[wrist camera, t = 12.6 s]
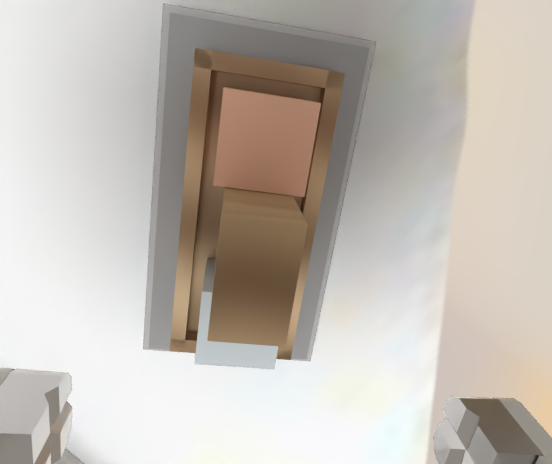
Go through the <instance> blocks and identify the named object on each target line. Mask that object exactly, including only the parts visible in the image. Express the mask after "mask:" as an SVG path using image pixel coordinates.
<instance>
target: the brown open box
mask: <svg viewBox="0 0 552 464" xmlns="http://www.w3.org/2000/svg"><path fill="white" fill-rule="evenodd" d="M344 77H345V73H341V72H335V71H330V70H324V69H318V68H312V67H306V66H300V65H294V64H288V63H282V62H276V61H271V60H265V59H259V58H253V57H247V56H241V55H235V54H229V53H223V52H217V51H212V50H206V49H200V48H195V54H194V66H193V78H192V90H191V102H190V114H189V126H188V138H187V150H186V162H185V174H184V186H183V197H182V209H181V221H180V233H179V245H178V257H177V269H176V281H175V293H174V305H173V317H172V329H171V341H170V351H176V352H190V353H196V345H197V335H198V325H199V316H200V306H201V296H202V288H203V282H204V276H205V269H206V263H207V258H210V259H216V264H215V273H214V282H213V292H212V301H211V311H210V320H209V329H208V339H207V341H214V342H227V343H240V344H253V345H266V346H278V351H277V357H276V359H286V360H291V355H292V350H293V345H294V340H295V334H296V329H297V324H298V319H299V313H300V308H301V303H302V298H303V292H304V287H305V282H306V277H307V271H308V266H309V261H310V256H311V250H312V245H313V240H314V235H315V229H316V224H317V219H318V214H319V208H320V203H321V198H322V193H323V187H324V182H325V177H326V172H327V166H328V161H329V156H330V151H331V145H332V140H333V135H334V130H335V124H336V119H337V114H338V109H339V103H340V98H341V93H342V88H343V82H344ZM224 87H227V88H234V89H240V90H246V91H253V92H259V93H265V94H272V95H278V96H284V97H291V98H297V99H303V100H309V101H313V102H318V103H321V107H320V112H319V118H318V123H317V129H316V135H315V140H314V146H313V152H312V157H311V163H310V169H309V174H308V180H307V186H306V191H305V197H299V196H291V195H283V194H275V193H267V192H260V191H252V190H244V189H236V188H228V187H220V186H213V182H214V172H215V163H216V153H217V144H218V134H219V125H220V116H221V106H222V97H223V88H224Z"/></svg>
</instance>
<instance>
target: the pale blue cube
mask: <svg viewBox="0 0 552 464" xmlns="http://www.w3.org/2000/svg"><path fill="white" fill-rule="evenodd" d="M215 264H216V259H210V258H207V263H206V269H205V276H204V282H203V288H202V296H201V306H200V316H199V325H198V335H197V345H196V354H195V364H203V365H218V366H233V367H248V368H263V369H274V368H275V362H276V357H277V351H278V346H266V345H253V344H240V343H227V342H214V341H207V339H208V329H209V320H210V311H211V301H212V292H213V282H214V273H215Z"/></svg>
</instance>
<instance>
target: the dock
mask: <svg viewBox="0 0 552 464" xmlns="http://www.w3.org/2000/svg"><path fill="white" fill-rule="evenodd" d="M375 45H376V42H375V41H370V40H364V39H358V38H353V37H347V36H342V35H336V34H331V33H325V32H320V31H314V30H308V29H303V28H297V27H292V26H286V25H281V24H275V23H270V22H264V21H258V20H253V19H247V18H242V17H236V16H231V15H225V14H220V13H214V12H208V11H203V10H197V9H192V8H186V7H181V6H175V5H170V4H164V3H163V17H162V34H161V51H160V68H159V85H158V102H157V119H156V136H155V153H154V170H153V187H152V204H151V221H150V238H149V255H148V272H147V289H146V307H145V324H144V341H143V349H146V350H160V351H170V341H171V329H172V317H173V305H174V293H175V281H176V269H177V257H178V245H179V233H180V221H181V209H182V197H183V186H184V174H185V162H186V150H187V138H188V126H189V114H190V102H191V90H192V78H193V66H194V54H195V48H200V49H206V50H212V51H217V52H223V53H229V54H235V55H241V56H247V57H253V58H259V59H265V60H271V61H276V62H282V63H288V64H294V65H300V66H306V67H312V68H318V69H324V70H330V71H335V72H341V73H345V77H344V82H343V88H342V93H341V98H340V103H339V109H338V114H337V119H336V124H335V130H334V135H333V140H332V145H331V151H330V156H329V161H328V166H327V172H326V177H325V182H324V187H323V193H322V198H321V203H320V208H319V214H318V219H317V224H316V229H315V235H314V240H313V245H312V250H311V256H310V261H309V266H308V271H307V277H306V282H305V287H304V292H303V298H302V303H301V308H300V313H299V319H298V324H297V329H296V334H295V340H294V345H293V350H292V355H291V360H300V361H310V360H311V355H312V350H313V346H314V341H315V336H316V331H317V326H318V321H319V317H320V312H321V307H322V302H323V297H324V292H325V287H326V283H327V278H328V273H329V268H330V263H331V258H332V253H333V249H334V244H335V239H336V234H337V229H338V224H339V220H340V215H341V210H342V205H343V200H344V195H345V190H346V186H347V181H348V176H349V171H350V166H351V161H352V156H353V152H354V147H355V142H356V137H357V132H358V127H359V123H360V118H361V113H362V108H363V103H364V98H365V93H366V89H367V84H368V79H369V74H370V69H371V64H372V59H373V55H374V50H375ZM174 352H176V351H174ZM188 353H190V352H188Z"/></svg>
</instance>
